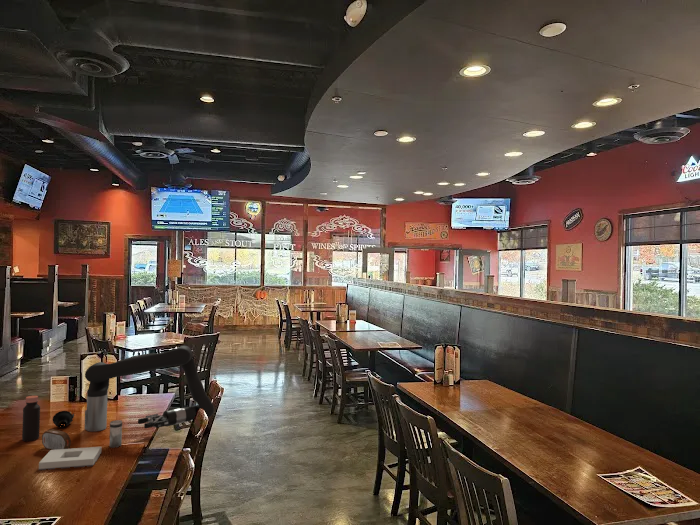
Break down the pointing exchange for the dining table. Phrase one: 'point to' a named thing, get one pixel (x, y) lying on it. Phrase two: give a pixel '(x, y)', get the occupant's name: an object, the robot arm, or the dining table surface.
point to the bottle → (31, 419)
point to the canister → (115, 433)
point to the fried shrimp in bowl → (62, 418)
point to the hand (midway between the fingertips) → (141, 423)
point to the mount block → (70, 458)
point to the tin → (56, 440)
